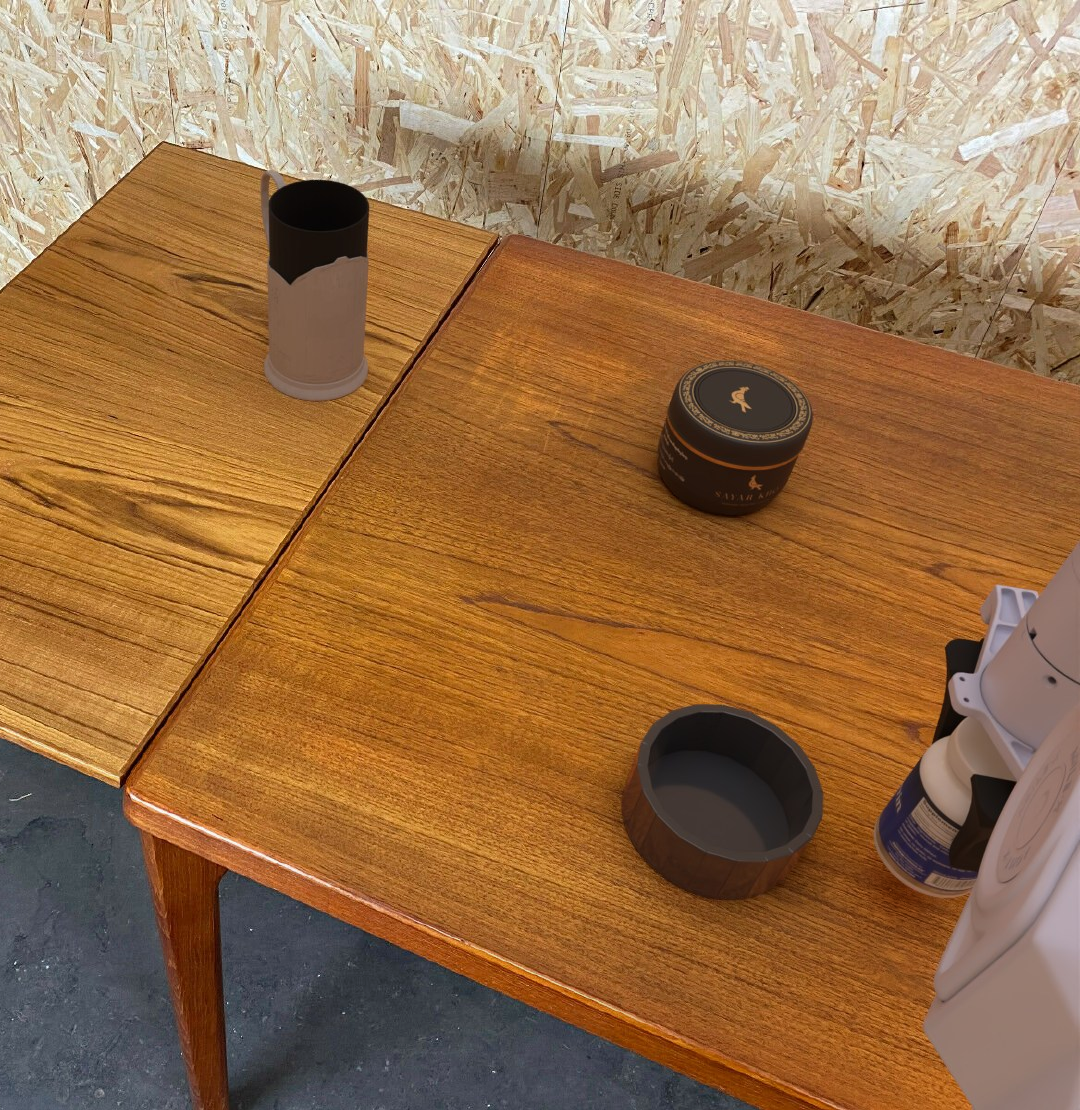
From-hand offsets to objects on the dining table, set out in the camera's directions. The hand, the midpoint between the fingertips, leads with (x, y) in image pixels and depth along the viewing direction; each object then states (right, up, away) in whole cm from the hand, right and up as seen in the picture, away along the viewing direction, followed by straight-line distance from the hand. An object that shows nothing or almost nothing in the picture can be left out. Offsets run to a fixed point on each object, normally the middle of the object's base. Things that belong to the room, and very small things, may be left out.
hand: (960, 809), depth 58 cm
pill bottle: (0, -3, +3) cm, 5 cm away
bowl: (-10, -3, +9) cm, 14 cm away
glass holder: (-35, +30, +39) cm, 60 cm away
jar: (-3, +19, +29) cm, 35 cm away
